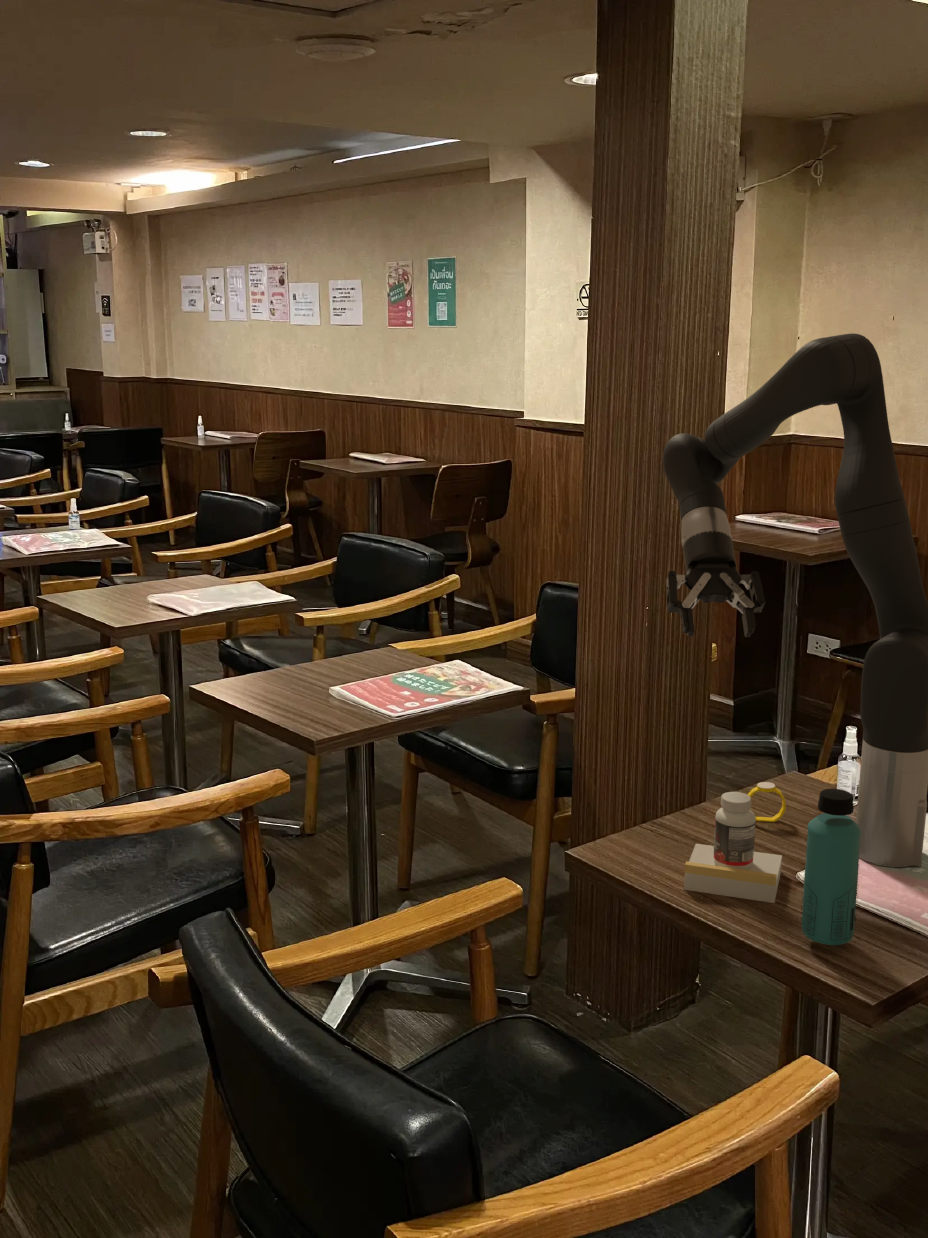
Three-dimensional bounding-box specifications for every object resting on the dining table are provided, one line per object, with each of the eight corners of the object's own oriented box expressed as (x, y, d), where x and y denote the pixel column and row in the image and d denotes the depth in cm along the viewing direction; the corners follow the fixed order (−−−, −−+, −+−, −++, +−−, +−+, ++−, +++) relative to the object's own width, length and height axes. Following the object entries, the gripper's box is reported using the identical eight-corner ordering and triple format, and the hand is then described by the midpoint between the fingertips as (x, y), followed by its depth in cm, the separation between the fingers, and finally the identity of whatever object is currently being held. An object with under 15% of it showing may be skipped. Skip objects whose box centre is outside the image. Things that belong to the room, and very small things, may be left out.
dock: (780, 872, 168) (782, 847, 167) (774, 903, 159) (776, 877, 158) (695, 859, 172) (696, 835, 171) (683, 889, 163) (685, 864, 162)
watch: (746, 825, 185) (746, 788, 183) (744, 818, 187) (744, 782, 186) (786, 824, 184) (786, 787, 183) (784, 817, 187) (783, 781, 185)
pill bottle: (708, 855, 167) (711, 790, 165) (745, 854, 168) (749, 788, 165) (720, 872, 162) (723, 805, 160) (758, 871, 163) (762, 803, 160)
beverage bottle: (856, 960, 145) (869, 805, 140) (799, 954, 146) (811, 800, 141) (850, 934, 151) (863, 785, 146) (796, 928, 152) (806, 780, 147)
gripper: (664, 529, 180) (675, 621, 172) (759, 529, 181) (774, 621, 172) (657, 557, 187) (667, 647, 178) (748, 557, 187) (762, 647, 179)
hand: (720, 634), depth 175 cm, fingers open, 8 cm apart
